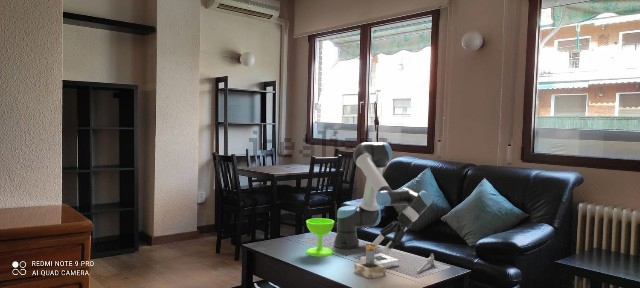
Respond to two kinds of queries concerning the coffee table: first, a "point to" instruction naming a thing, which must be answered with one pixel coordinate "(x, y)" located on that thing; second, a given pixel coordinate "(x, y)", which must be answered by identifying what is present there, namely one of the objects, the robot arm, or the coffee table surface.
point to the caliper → (426, 263)
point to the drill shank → (370, 255)
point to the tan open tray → (370, 270)
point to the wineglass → (320, 235)
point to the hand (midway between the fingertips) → (378, 249)
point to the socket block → (383, 260)
